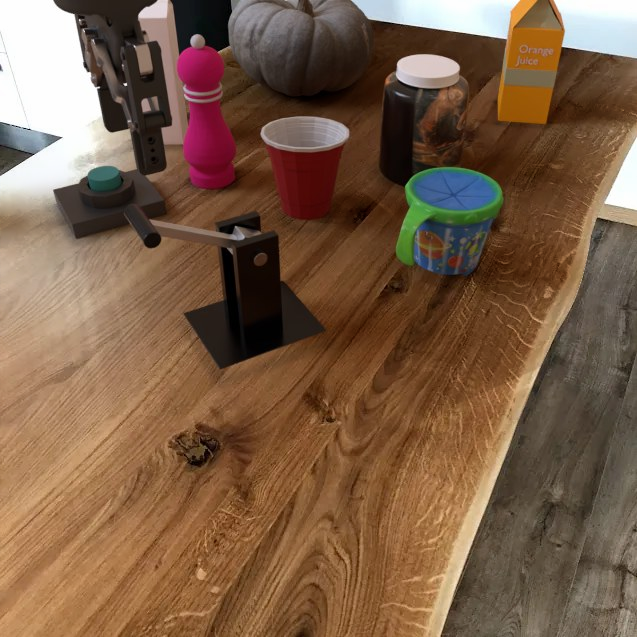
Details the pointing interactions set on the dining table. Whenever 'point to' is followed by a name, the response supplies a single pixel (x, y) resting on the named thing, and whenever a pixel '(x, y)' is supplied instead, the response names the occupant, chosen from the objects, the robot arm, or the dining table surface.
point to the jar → (422, 117)
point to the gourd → (301, 43)
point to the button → (104, 178)
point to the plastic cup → (305, 162)
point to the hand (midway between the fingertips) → (135, 149)
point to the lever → (180, 231)
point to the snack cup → (448, 219)
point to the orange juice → (530, 61)
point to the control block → (107, 203)
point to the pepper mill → (206, 117)
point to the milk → (167, 66)
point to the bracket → (251, 300)
